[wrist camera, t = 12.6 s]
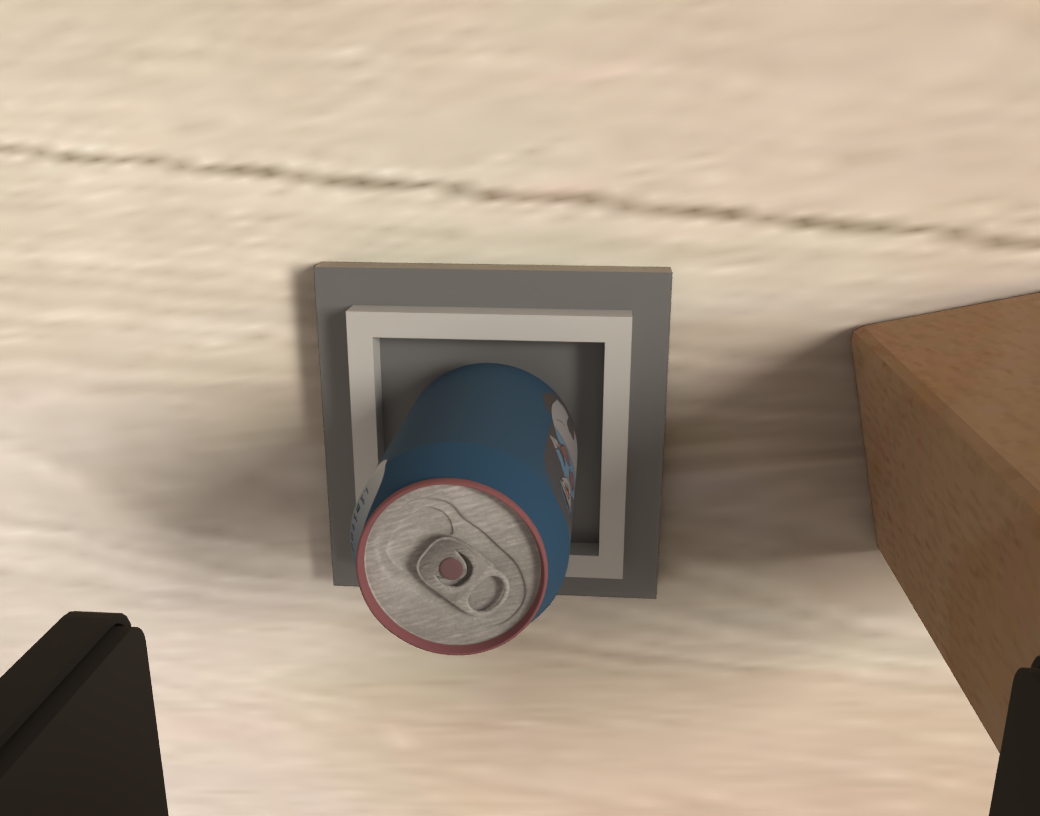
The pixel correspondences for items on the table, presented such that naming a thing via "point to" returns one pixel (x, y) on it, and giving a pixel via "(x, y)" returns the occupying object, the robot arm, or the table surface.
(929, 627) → the wooden block
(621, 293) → the holder plate
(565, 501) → the soda can
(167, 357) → the table surface
